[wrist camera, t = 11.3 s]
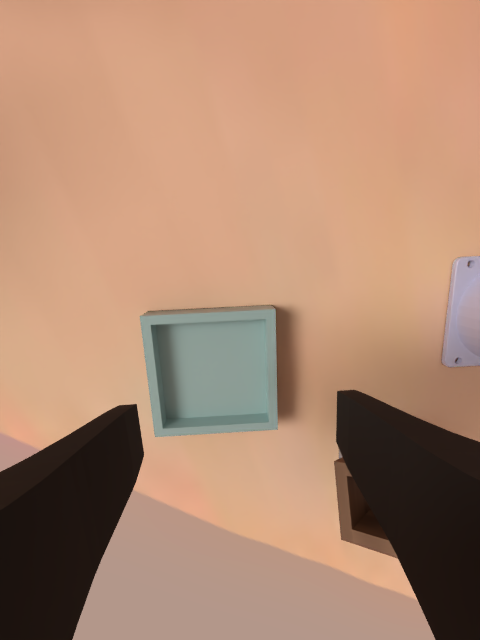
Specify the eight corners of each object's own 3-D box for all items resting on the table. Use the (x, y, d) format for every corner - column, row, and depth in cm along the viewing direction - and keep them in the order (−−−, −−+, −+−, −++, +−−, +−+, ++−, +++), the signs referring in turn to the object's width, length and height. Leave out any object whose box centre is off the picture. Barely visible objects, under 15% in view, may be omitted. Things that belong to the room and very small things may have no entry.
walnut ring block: (424, 456, 18) (411, 473, 14) (437, 529, 17) (425, 567, 13) (359, 448, 21) (334, 461, 17) (366, 511, 20) (341, 539, 16)
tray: (271, 305, 19) (275, 309, 17) (273, 415, 21) (277, 429, 19) (148, 311, 19) (139, 316, 17) (161, 422, 21) (154, 437, 19)
